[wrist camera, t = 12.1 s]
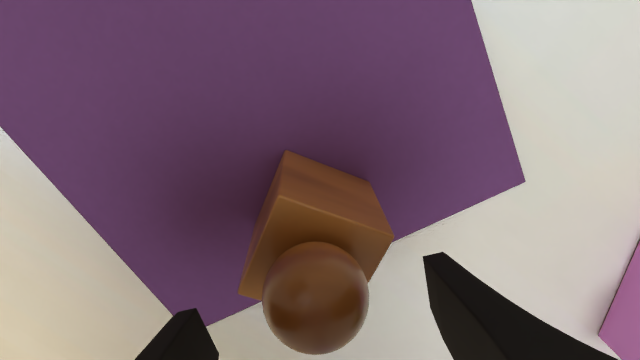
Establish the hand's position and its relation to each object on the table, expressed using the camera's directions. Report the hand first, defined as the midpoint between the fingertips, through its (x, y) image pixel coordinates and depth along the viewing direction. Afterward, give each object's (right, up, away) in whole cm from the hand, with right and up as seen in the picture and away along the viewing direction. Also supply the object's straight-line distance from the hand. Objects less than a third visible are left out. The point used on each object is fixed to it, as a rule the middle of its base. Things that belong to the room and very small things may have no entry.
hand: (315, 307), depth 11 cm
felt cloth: (-3, +8, +4) cm, 9 cm away
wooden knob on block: (0, +3, +6) cm, 7 cm away
